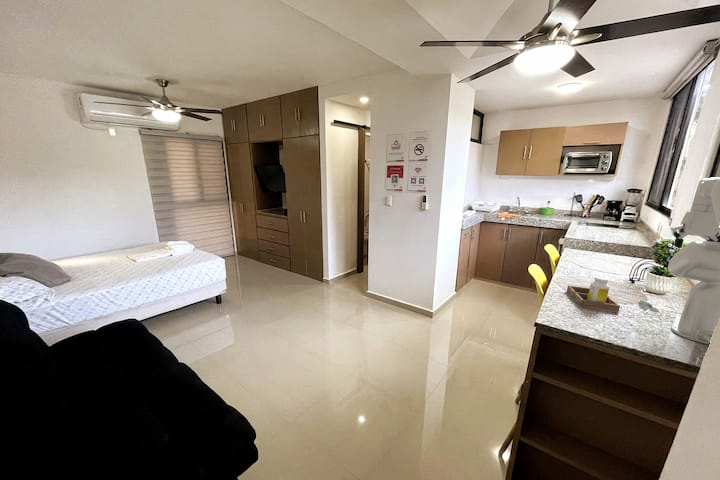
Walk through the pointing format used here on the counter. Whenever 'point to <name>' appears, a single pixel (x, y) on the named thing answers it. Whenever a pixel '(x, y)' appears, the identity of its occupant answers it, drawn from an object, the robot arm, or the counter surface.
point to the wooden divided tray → (581, 299)
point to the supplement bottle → (598, 290)
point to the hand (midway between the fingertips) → (692, 248)
